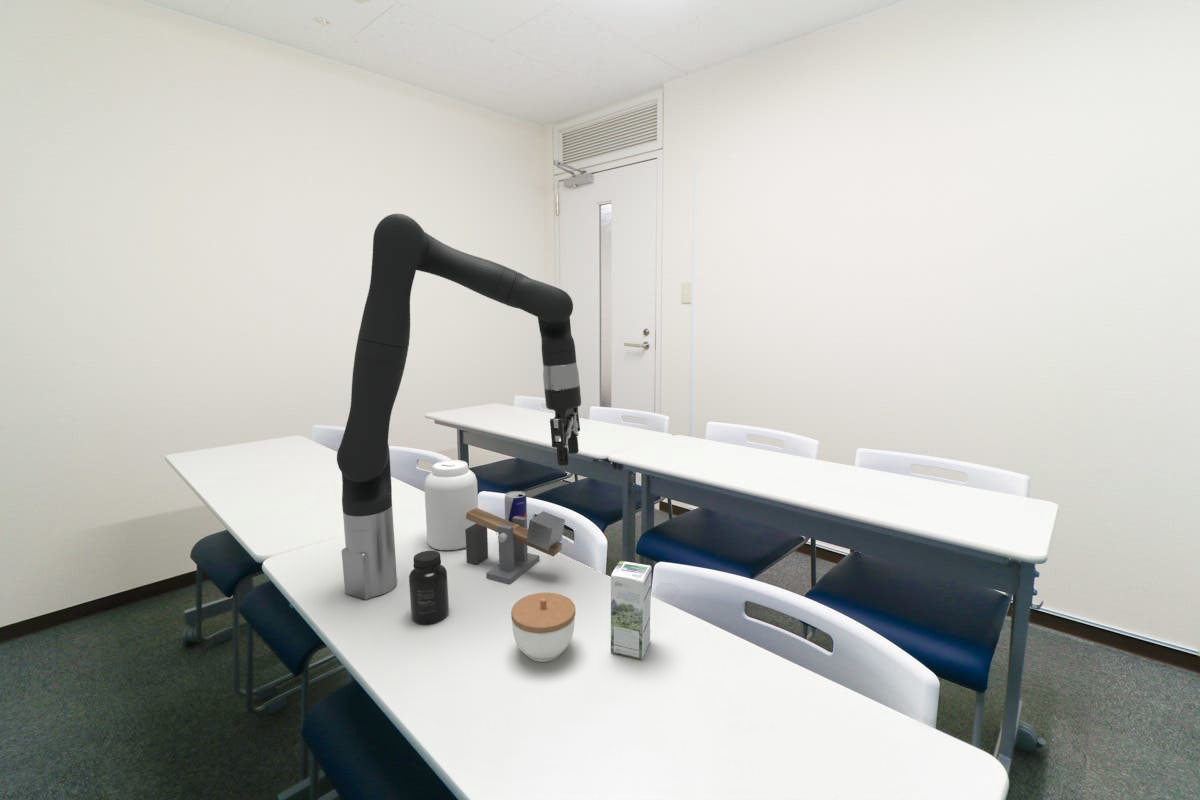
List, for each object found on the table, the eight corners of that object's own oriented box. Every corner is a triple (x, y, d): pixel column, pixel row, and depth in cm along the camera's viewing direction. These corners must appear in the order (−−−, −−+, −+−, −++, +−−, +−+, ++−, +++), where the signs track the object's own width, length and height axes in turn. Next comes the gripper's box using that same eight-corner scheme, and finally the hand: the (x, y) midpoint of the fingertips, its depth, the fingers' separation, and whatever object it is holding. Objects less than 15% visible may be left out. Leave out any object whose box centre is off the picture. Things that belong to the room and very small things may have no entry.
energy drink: (525, 544, 132) (524, 498, 130) (503, 544, 133) (502, 498, 131) (528, 535, 138) (527, 490, 136) (507, 535, 138) (506, 490, 136)
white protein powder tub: (417, 541, 134) (412, 464, 131) (459, 526, 143) (456, 453, 140) (446, 556, 126) (442, 474, 123) (489, 539, 135) (486, 462, 132)
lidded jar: (567, 675, 86) (566, 621, 84) (503, 667, 88) (501, 613, 86) (581, 635, 96) (581, 586, 94) (523, 628, 98) (522, 580, 96)
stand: (509, 584, 114) (508, 535, 112) (455, 570, 120) (452, 523, 118) (539, 560, 124) (538, 515, 122) (488, 548, 130) (486, 505, 129)
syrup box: (650, 641, 94) (652, 563, 92) (642, 661, 89) (643, 579, 86) (619, 634, 96) (620, 558, 94) (609, 654, 91) (609, 574, 88)
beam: (553, 556, 113) (554, 549, 113) (465, 518, 122) (466, 512, 121) (561, 549, 116) (562, 543, 116) (475, 513, 125) (476, 507, 124)
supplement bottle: (456, 610, 104) (454, 551, 102) (431, 629, 98) (428, 567, 96) (429, 602, 107) (425, 545, 105) (403, 619, 101) (399, 559, 99)
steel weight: (548, 550, 112) (552, 529, 111) (526, 541, 114) (529, 519, 113) (561, 540, 117) (565, 519, 116) (540, 531, 119) (543, 511, 118)
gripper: (554, 380, 122) (561, 450, 124) (534, 391, 108) (542, 469, 111) (586, 379, 120) (592, 449, 123) (570, 390, 106) (577, 468, 109)
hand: (568, 458), depth 117 cm, fingers open, 8 cm apart
